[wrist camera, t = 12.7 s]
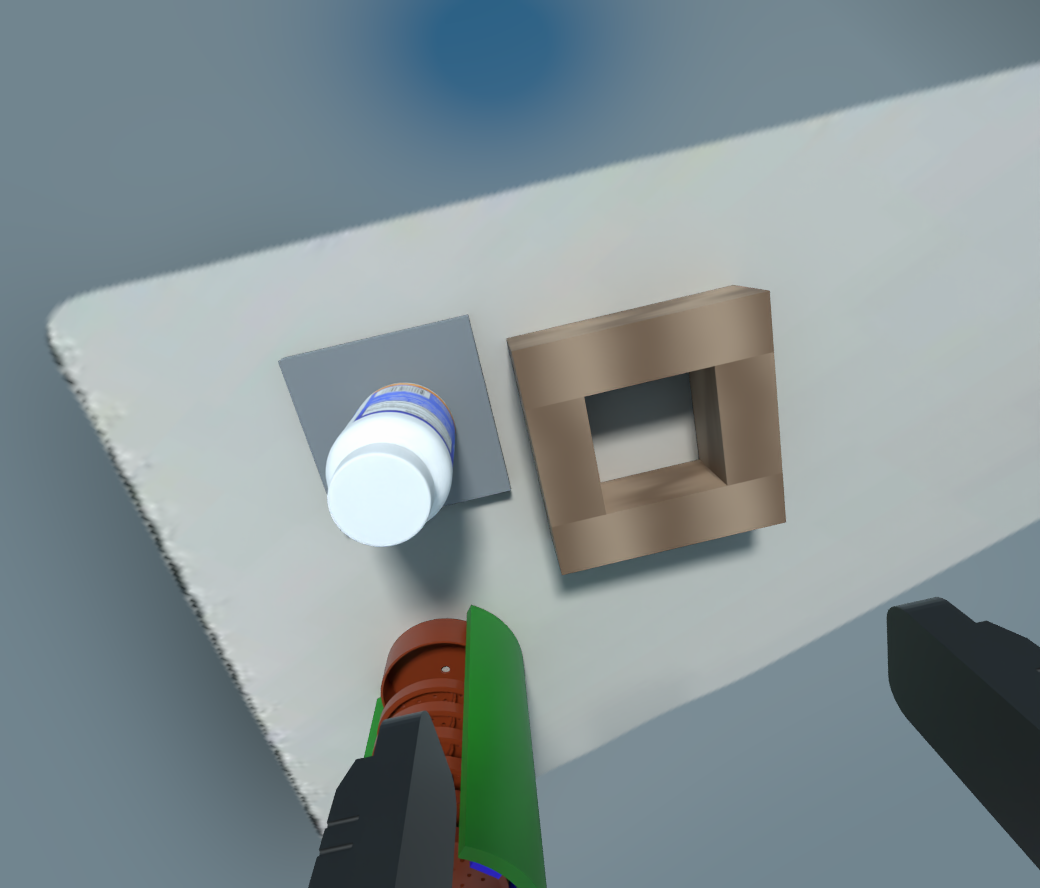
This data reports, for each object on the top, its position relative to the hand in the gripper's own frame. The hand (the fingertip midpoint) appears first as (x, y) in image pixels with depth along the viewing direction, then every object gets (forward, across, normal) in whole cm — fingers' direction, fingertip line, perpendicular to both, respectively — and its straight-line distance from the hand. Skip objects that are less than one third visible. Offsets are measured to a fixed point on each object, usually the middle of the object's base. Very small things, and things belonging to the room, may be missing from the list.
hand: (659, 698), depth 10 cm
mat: (+23, +8, 0) cm, 25 cm away
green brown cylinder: (+24, +10, +17) cm, 31 cm away
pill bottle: (+22, +8, 0) cm, 24 cm away
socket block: (+24, -5, +3) cm, 24 cm away
